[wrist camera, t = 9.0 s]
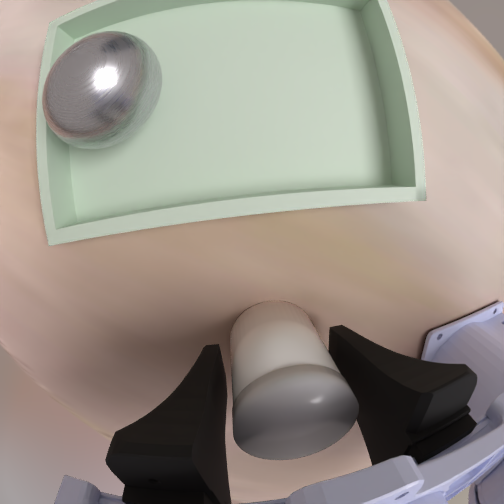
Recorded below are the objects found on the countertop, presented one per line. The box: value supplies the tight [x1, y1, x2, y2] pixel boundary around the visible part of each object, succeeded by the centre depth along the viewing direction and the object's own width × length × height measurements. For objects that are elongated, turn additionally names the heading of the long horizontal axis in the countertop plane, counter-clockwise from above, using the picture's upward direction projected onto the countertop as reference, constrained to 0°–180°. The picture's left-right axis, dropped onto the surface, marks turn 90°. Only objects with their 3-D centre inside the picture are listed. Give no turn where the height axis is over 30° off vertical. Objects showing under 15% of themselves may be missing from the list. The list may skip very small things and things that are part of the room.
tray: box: [36, 0, 426, 246], centre depth 9 cm, size 16×11×2 cm
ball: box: [42, 31, 162, 149], centre depth 7 cm, size 5×5×5 cm
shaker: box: [230, 301, 359, 460], centre depth 10 cm, size 4×4×6 cm
